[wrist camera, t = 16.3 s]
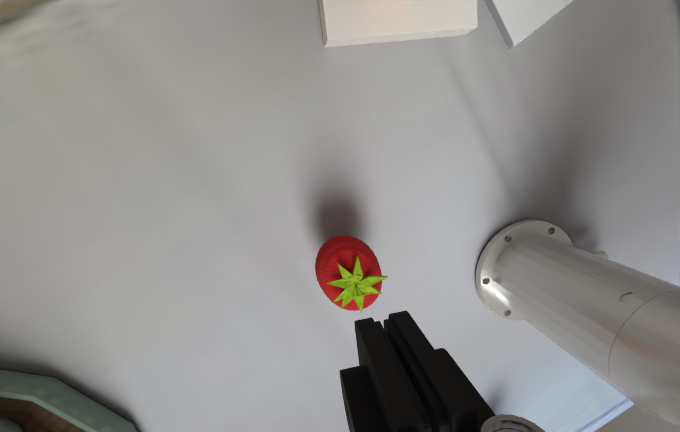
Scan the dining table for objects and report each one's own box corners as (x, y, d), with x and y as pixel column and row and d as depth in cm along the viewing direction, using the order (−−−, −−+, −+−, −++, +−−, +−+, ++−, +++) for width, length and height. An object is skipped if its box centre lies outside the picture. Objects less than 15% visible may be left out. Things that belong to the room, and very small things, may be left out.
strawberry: (349, 211, 35) (373, 239, 26) (377, 268, 37) (409, 314, 28) (299, 236, 35) (305, 274, 25) (330, 293, 37) (346, 347, 28)
